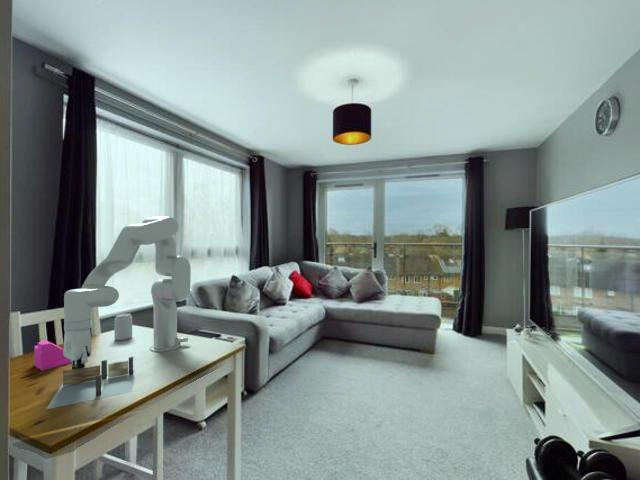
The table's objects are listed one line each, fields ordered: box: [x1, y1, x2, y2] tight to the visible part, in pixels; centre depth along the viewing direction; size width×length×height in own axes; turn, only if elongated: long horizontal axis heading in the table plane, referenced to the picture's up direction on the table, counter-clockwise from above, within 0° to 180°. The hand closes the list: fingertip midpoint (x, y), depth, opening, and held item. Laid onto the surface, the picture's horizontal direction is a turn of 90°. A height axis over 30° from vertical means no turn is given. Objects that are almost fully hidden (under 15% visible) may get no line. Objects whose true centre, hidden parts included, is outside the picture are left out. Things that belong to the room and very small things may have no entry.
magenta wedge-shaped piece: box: [33, 340, 71, 371], centre depth 121 cm, size 12×10×10 cm
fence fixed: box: [96, 356, 134, 396], centre depth 102 cm, size 10×14×6 cm
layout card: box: [46, 369, 135, 410], centre depth 100 cm, size 21×18×1 cm
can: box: [114, 313, 133, 341], centre depth 151 cm, size 8×8×12 cm
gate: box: [62, 364, 101, 386], centre depth 103 cm, size 10×1×5 cm, turn 119°
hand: (78, 376), depth 105 cm, fingers closed
